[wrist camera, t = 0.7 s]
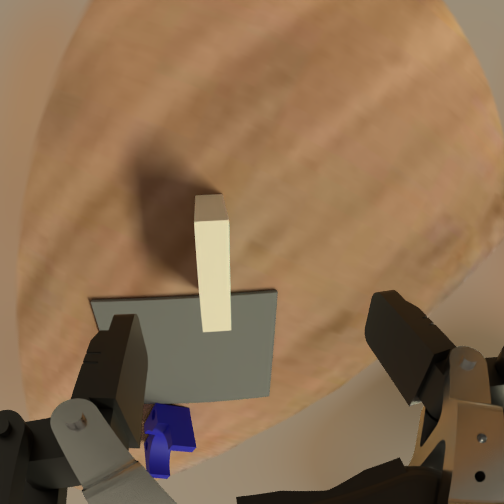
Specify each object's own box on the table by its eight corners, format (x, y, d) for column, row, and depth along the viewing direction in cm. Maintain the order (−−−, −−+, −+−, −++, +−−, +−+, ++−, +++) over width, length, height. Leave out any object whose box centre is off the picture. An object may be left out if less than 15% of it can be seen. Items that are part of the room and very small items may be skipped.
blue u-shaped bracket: (155, 402, 35) (160, 443, 30) (189, 408, 37) (196, 447, 32) (134, 441, 39) (137, 475, 34) (162, 445, 41) (167, 478, 36)
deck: (195, 195, 25) (194, 221, 20) (222, 193, 25) (229, 220, 20) (201, 289, 29) (202, 332, 24) (225, 288, 29) (231, 330, 24)
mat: (91, 299, 28) (90, 302, 27) (276, 290, 30) (277, 292, 30) (128, 401, 35) (127, 403, 34) (268, 393, 37) (269, 396, 37)
